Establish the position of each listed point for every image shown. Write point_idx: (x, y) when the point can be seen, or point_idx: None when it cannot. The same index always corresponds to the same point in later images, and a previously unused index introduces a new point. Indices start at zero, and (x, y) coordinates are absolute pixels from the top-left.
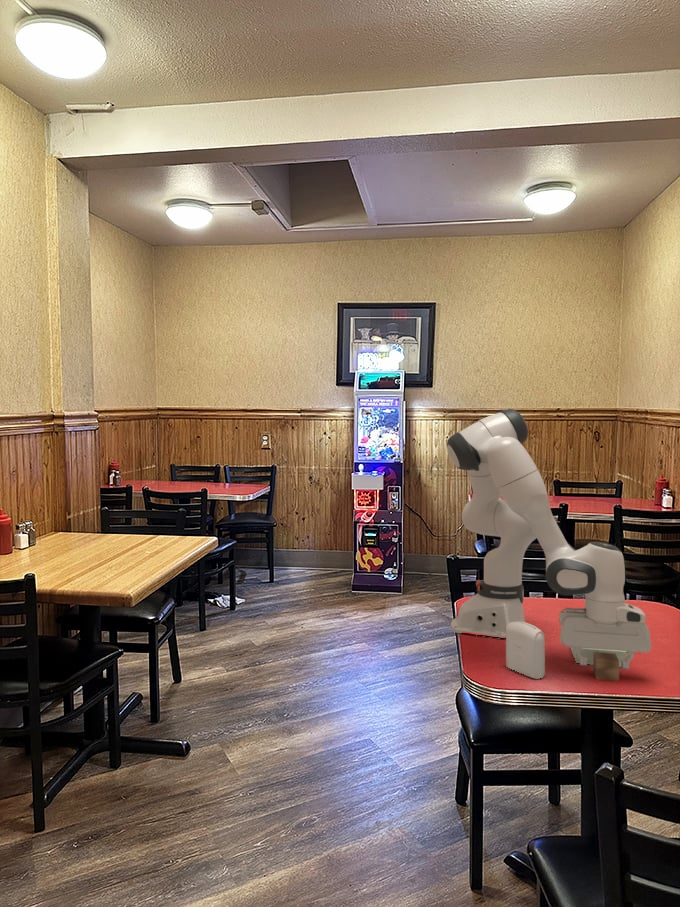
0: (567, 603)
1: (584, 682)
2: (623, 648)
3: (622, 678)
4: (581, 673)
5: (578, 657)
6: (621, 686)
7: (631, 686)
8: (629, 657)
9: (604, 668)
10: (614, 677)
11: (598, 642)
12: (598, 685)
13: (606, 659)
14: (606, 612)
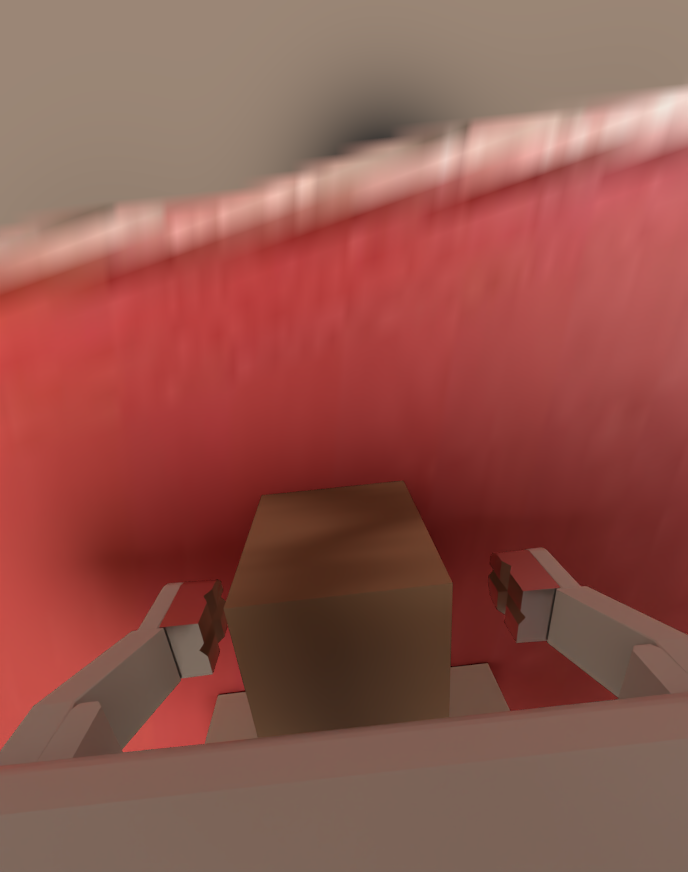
0: None
1: (493, 396)
2: (93, 798)
3: (239, 542)
4: (483, 542)
5: (493, 704)
6: (244, 402)
7: (177, 424)
8: (103, 681)
9: (361, 531)
10: (287, 504)
11: (540, 858)
12: (403, 369)
13: (351, 599)
14: None
